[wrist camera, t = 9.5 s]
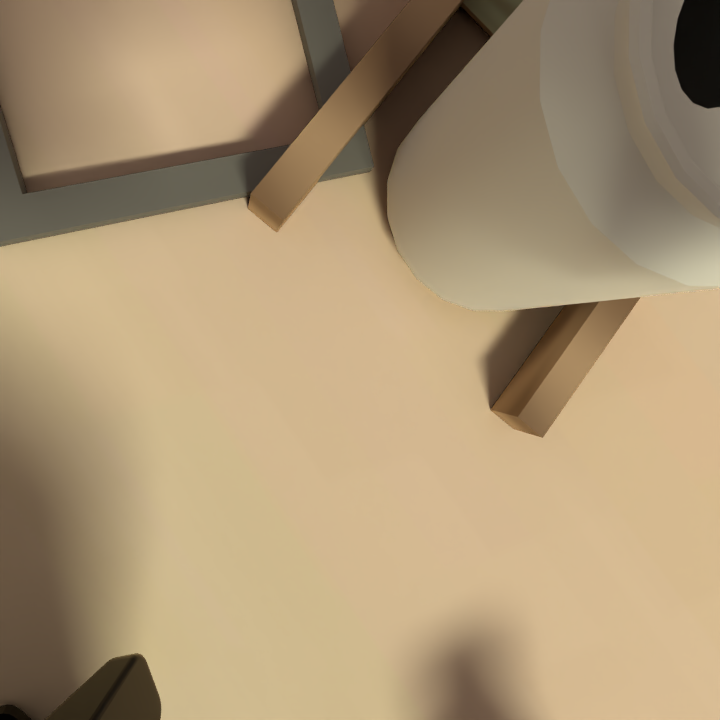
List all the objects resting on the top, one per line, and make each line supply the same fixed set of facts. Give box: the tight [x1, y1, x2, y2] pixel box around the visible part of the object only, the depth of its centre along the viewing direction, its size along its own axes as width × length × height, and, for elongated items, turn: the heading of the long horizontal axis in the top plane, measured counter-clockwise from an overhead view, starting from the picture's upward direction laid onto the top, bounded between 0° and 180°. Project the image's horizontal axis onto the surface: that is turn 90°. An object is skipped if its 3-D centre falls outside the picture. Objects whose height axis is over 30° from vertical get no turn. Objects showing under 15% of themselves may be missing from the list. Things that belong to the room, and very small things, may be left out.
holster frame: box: [0, 0, 374, 246], centre depth 17 cm, size 12×12×1 cm
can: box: [387, 0, 720, 311], centre depth 15 cm, size 8×8×12 cm
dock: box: [248, 0, 640, 438], centre depth 18 cm, size 12×12×5 cm
